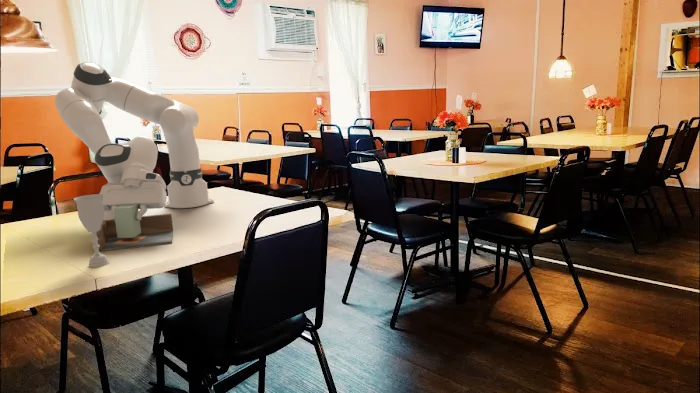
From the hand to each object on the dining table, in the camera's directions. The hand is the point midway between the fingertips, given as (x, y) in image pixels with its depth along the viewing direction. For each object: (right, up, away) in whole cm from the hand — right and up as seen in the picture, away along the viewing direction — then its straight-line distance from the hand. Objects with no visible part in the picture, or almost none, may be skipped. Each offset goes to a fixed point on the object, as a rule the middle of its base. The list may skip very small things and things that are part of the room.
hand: (126, 220), depth 155 cm
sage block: (0, -5, +2) cm, 5 cm away
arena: (+2, -7, +3) cm, 7 cm away
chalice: (0, -11, -17) cm, 21 cm away
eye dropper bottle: (-13, -5, +16) cm, 22 cm away
